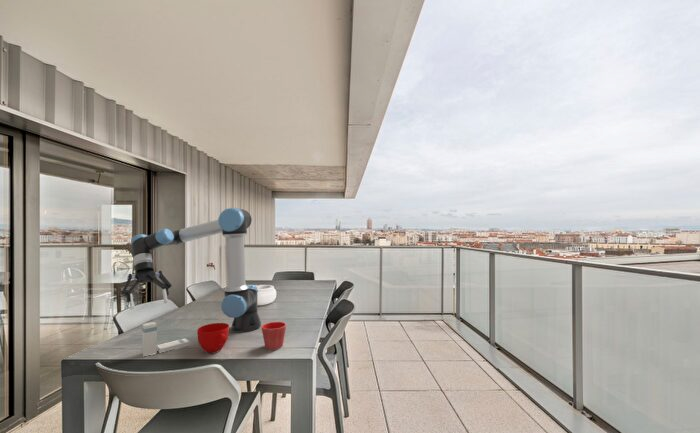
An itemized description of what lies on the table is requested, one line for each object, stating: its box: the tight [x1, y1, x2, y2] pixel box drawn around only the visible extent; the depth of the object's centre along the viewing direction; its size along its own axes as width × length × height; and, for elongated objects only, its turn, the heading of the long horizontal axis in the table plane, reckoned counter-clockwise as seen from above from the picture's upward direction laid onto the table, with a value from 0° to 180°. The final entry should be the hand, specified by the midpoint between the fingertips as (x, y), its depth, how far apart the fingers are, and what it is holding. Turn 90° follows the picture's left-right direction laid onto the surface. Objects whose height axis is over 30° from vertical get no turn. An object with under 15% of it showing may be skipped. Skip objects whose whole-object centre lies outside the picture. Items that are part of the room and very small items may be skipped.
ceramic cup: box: [196, 322, 230, 354], centre depth 132 cm, size 13×17×10 cm
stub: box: [141, 321, 158, 357], centre depth 130 cm, size 5×5×13 cm
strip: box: [157, 338, 190, 354], centre depth 136 cm, size 12×6×2 cm, turn 135°
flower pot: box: [261, 321, 287, 351], centre depth 136 cm, size 11×11×10 cm
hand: (149, 305), depth 139 cm, fingers open, 13 cm apart
